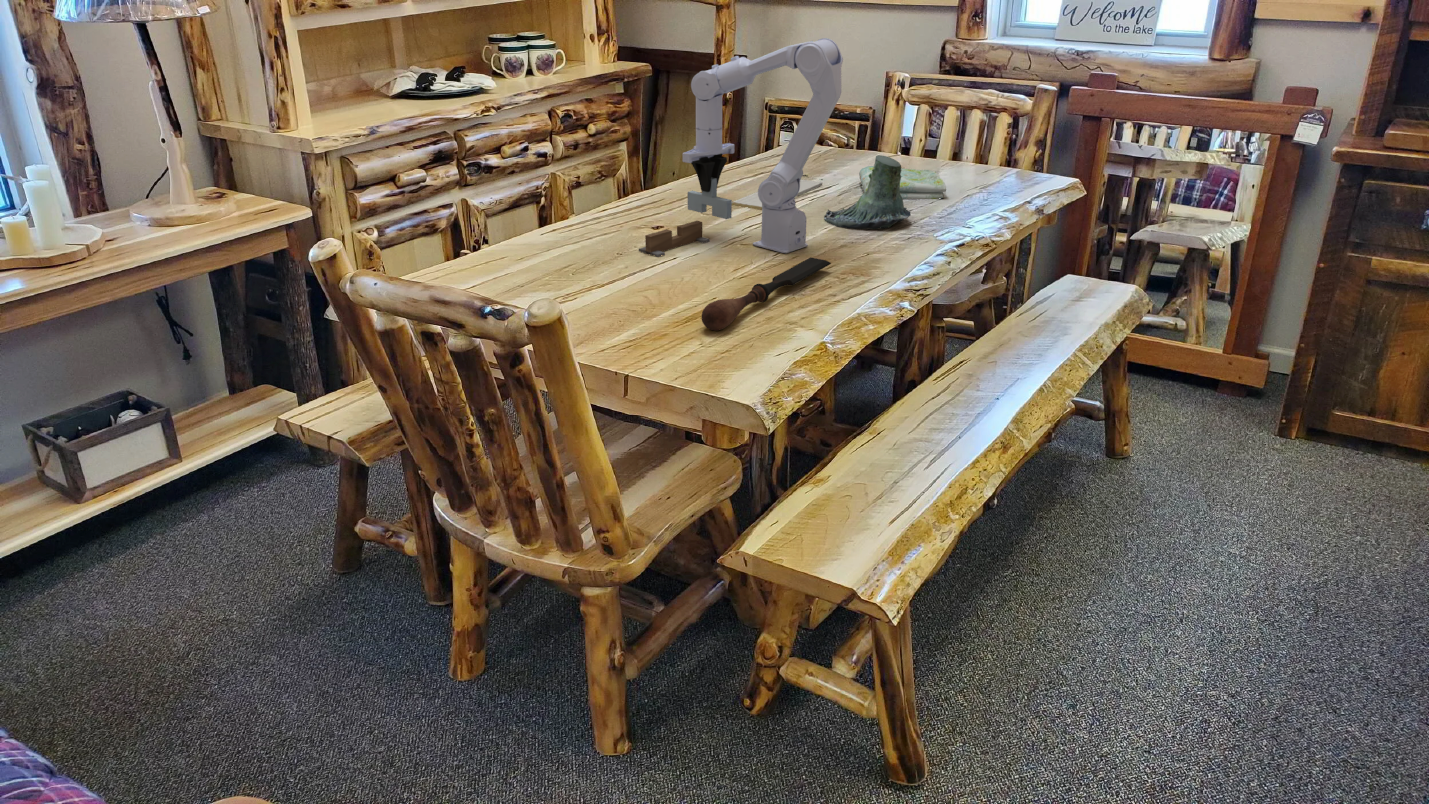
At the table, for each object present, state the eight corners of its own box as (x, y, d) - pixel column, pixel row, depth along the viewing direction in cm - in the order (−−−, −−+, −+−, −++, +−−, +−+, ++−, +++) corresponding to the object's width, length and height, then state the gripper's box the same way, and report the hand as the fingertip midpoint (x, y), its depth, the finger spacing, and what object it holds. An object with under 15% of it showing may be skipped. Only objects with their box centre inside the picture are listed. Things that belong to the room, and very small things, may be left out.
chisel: (695, 331, 178) (695, 304, 176) (810, 268, 210) (811, 244, 208) (719, 337, 175) (719, 310, 173) (831, 272, 208) (833, 248, 206)
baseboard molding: (723, 206, 257) (764, 213, 251) (723, 194, 256) (764, 201, 250) (783, 182, 281) (822, 188, 275) (783, 171, 280) (822, 177, 274)
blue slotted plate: (731, 217, 226) (731, 181, 222) (726, 219, 224) (727, 183, 221) (692, 208, 233) (692, 172, 229) (687, 209, 232) (687, 174, 228)
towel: (947, 201, 261) (949, 181, 259) (864, 200, 262) (865, 180, 260) (936, 185, 278) (937, 166, 276) (857, 183, 278) (858, 165, 276)
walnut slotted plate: (709, 241, 227) (709, 223, 225) (658, 257, 216) (657, 238, 215) (690, 236, 231) (690, 218, 229) (638, 251, 220) (638, 233, 218)
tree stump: (842, 208, 256) (864, 139, 247) (913, 238, 248) (938, 168, 240) (810, 221, 241) (832, 148, 232) (884, 254, 234) (910, 180, 225)
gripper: (718, 121, 228) (717, 181, 234) (672, 130, 218) (672, 192, 224) (741, 125, 224) (740, 186, 229) (695, 134, 214) (696, 198, 220)
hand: (708, 190), depth 226 cm, fingers closed on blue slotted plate, 2 cm apart
